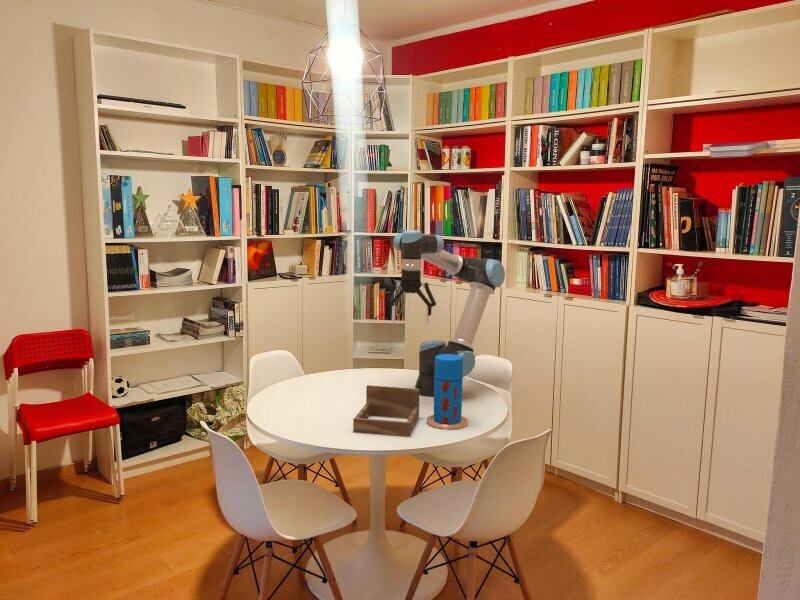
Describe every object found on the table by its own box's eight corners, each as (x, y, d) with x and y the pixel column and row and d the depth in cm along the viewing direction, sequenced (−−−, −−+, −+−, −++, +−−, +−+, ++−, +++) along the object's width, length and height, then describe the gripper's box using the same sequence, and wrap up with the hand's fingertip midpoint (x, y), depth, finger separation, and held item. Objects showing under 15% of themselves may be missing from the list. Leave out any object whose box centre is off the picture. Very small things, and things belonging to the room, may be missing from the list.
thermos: (438, 414, 255) (440, 352, 252) (464, 417, 251) (466, 355, 248) (429, 422, 245) (431, 358, 242) (456, 426, 241) (458, 361, 238)
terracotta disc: (429, 414, 258) (429, 412, 258) (469, 417, 255) (469, 415, 255) (423, 428, 242) (423, 425, 242) (465, 431, 239) (465, 428, 239)
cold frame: (367, 414, 257) (367, 385, 255) (418, 418, 253) (419, 388, 251) (353, 432, 237) (353, 400, 235) (409, 436, 233) (409, 404, 231)
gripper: (378, 269, 252) (377, 322, 255) (441, 271, 247) (440, 325, 250) (382, 267, 259) (381, 319, 262) (443, 269, 254) (442, 322, 257)
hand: (410, 322), depth 256 cm, fingers open, 13 cm apart
